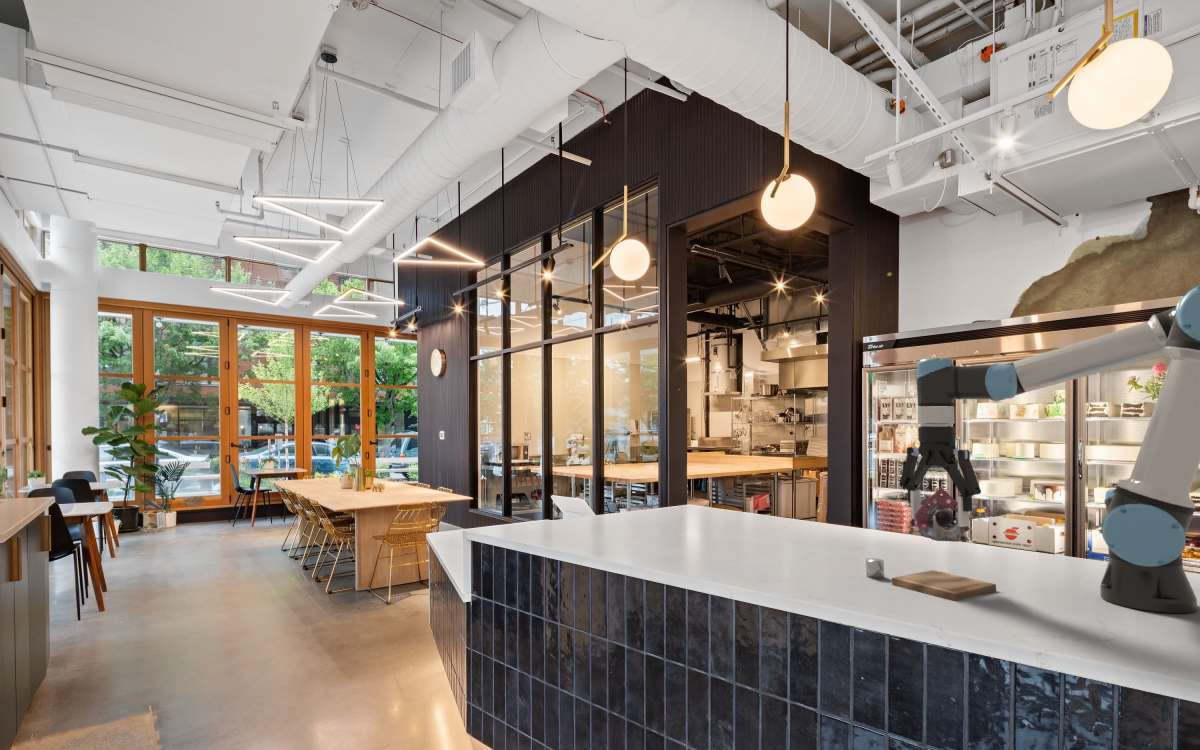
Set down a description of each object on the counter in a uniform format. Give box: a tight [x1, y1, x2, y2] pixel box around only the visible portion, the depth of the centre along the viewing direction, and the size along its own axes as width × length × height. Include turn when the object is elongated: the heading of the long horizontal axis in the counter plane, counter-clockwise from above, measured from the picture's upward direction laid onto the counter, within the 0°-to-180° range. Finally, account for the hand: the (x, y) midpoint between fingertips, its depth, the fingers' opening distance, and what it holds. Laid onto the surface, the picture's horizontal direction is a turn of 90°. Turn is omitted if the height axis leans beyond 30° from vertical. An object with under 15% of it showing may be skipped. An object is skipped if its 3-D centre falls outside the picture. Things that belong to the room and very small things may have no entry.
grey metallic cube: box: [865, 557, 885, 580], centre depth 153 cm, size 4×4×4 cm
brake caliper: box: [914, 488, 971, 543], centre depth 145 cm, size 11×11×12 cm
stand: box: [891, 569, 997, 602], centre depth 143 cm, size 15×15×2 cm
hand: (939, 522), depth 144 cm, fingers closed on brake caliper, 11 cm apart
